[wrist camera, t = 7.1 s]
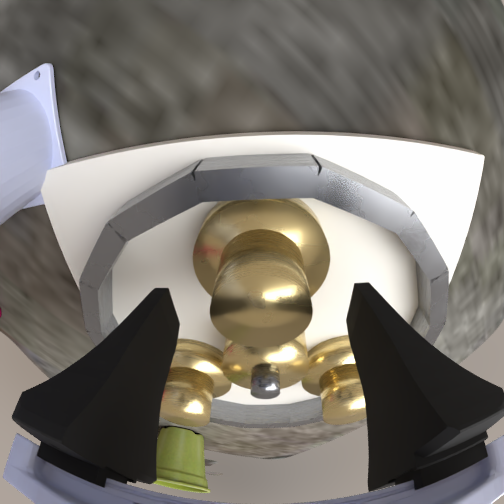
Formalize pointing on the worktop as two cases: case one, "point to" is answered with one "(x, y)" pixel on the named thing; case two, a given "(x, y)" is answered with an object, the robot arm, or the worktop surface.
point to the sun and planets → (262, 377)
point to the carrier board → (331, 218)
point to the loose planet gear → (261, 268)
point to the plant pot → (181, 460)
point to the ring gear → (251, 188)
